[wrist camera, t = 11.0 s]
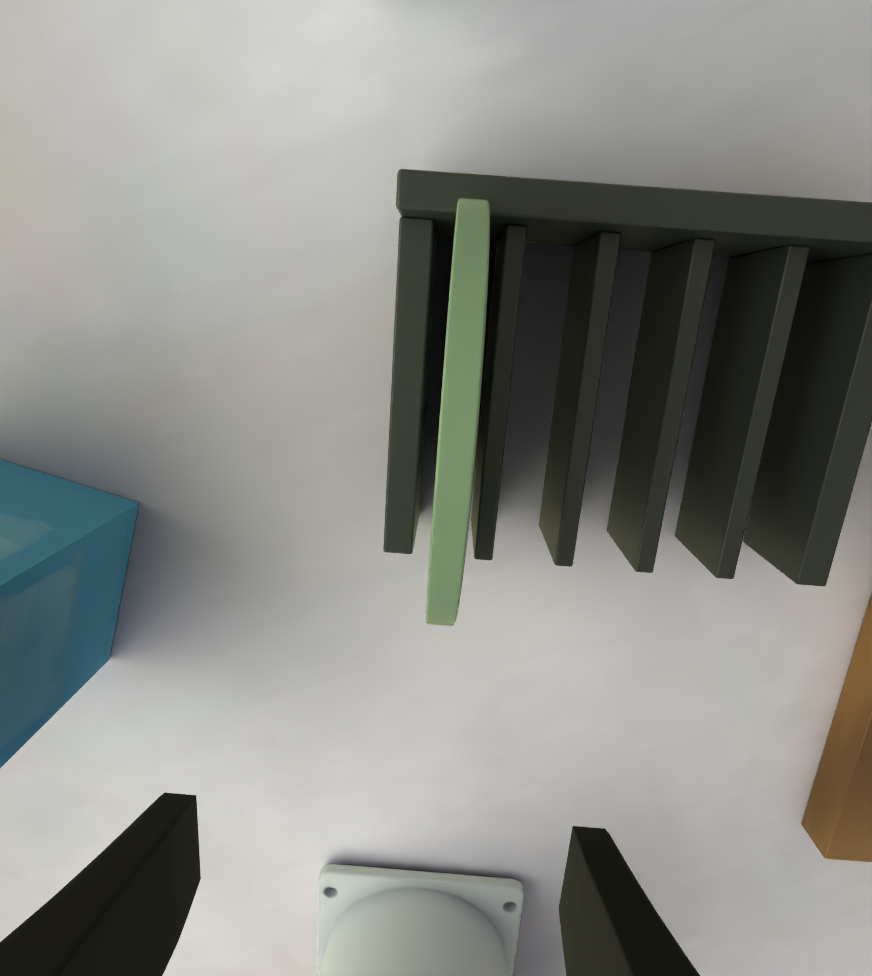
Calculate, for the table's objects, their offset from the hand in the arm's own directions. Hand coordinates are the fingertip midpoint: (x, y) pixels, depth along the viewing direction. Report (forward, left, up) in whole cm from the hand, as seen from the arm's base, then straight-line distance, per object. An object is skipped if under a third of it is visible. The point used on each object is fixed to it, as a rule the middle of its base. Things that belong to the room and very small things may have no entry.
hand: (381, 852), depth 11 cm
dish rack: (+8, -5, -9) cm, 13 cm away
